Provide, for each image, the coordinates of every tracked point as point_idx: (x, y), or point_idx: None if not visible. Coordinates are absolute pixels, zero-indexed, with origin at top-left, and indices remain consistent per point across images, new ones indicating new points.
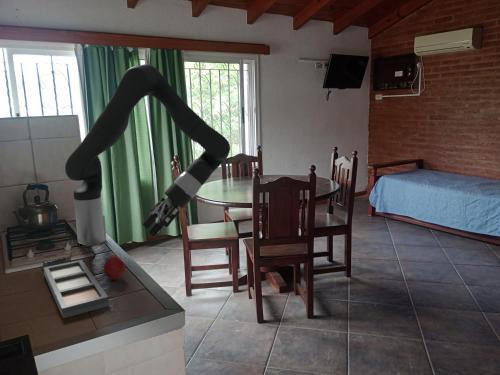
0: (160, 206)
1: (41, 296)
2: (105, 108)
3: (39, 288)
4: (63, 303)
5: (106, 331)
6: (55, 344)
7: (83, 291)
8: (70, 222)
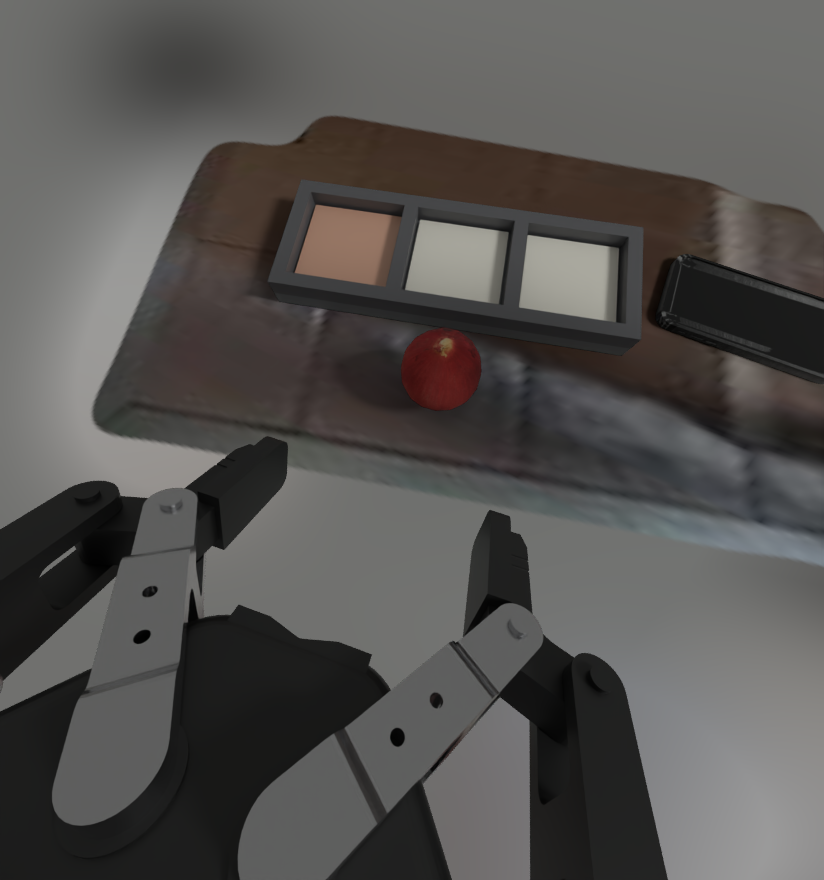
0: (331, 740)
1: None
2: None
3: None
4: (327, 190)
5: (170, 249)
6: (215, 165)
7: (384, 264)
8: None
